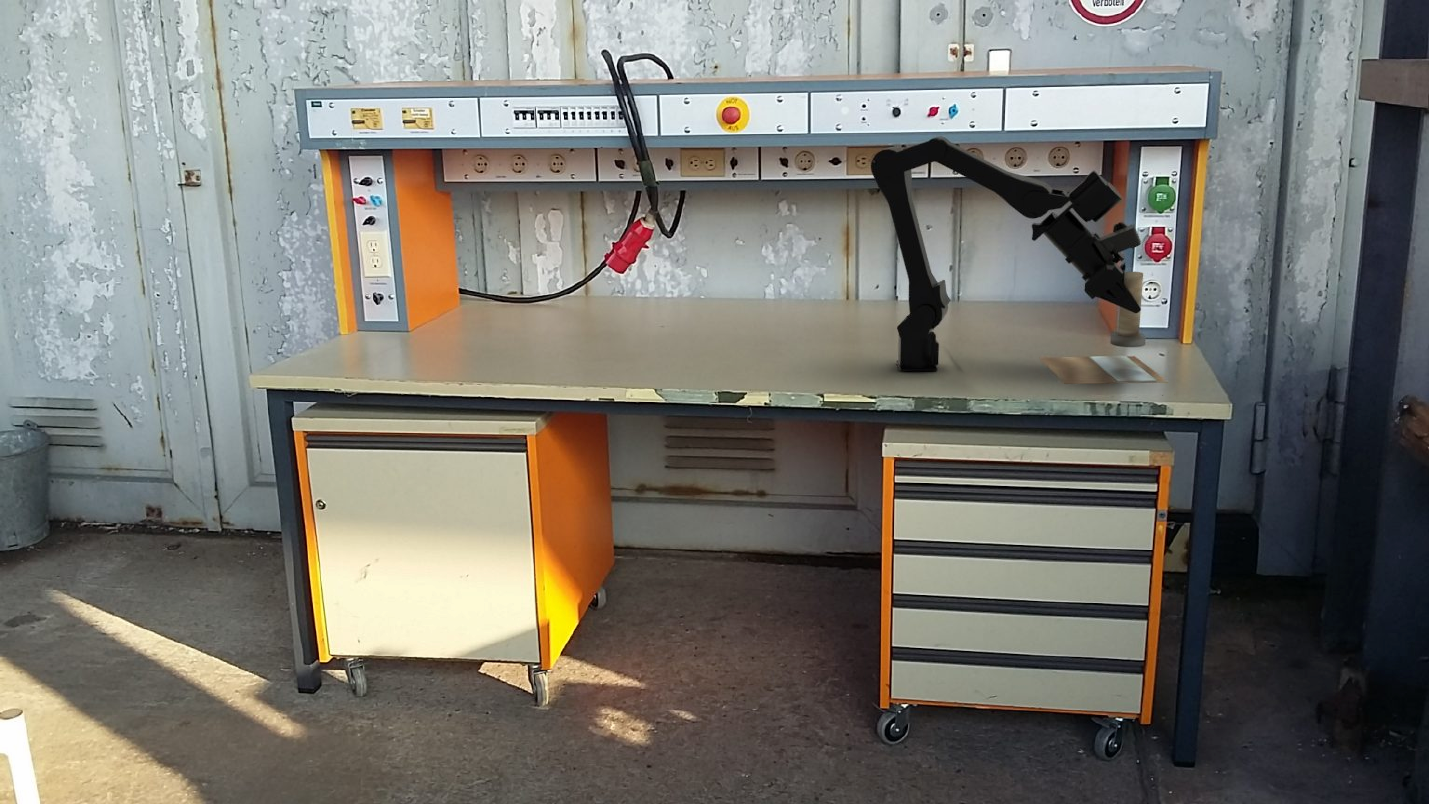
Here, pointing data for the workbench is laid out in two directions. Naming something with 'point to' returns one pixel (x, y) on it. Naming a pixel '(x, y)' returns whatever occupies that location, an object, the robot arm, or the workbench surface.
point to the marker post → (1130, 316)
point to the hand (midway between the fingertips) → (1139, 309)
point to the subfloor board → (1102, 370)
